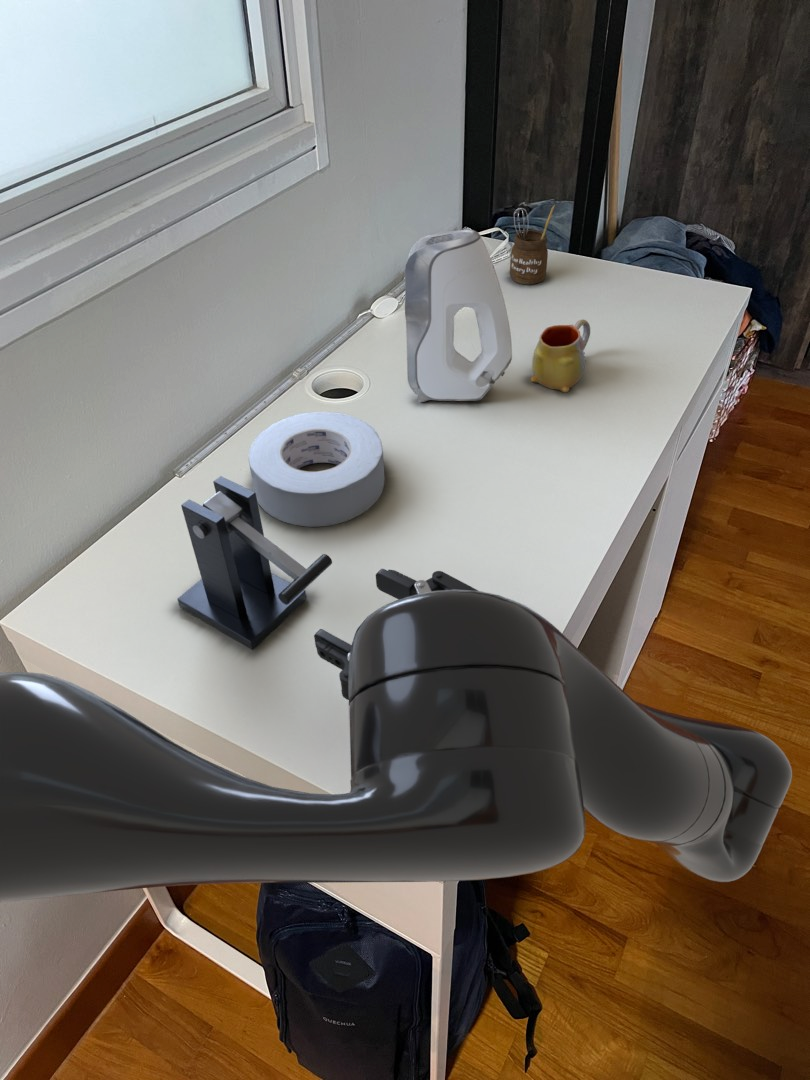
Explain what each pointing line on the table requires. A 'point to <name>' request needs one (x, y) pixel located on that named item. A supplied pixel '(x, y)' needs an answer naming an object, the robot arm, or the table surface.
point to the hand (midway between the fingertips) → (348, 607)
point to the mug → (560, 356)
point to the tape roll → (322, 491)
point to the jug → (430, 306)
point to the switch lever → (267, 547)
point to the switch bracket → (233, 573)
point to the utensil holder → (529, 255)
